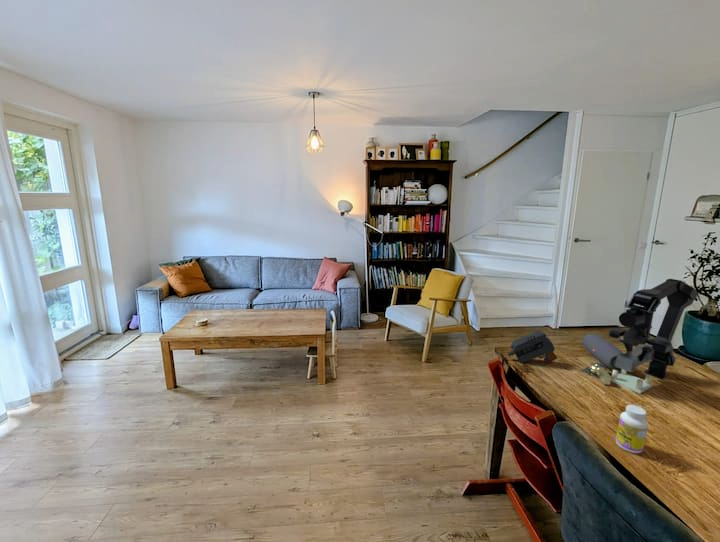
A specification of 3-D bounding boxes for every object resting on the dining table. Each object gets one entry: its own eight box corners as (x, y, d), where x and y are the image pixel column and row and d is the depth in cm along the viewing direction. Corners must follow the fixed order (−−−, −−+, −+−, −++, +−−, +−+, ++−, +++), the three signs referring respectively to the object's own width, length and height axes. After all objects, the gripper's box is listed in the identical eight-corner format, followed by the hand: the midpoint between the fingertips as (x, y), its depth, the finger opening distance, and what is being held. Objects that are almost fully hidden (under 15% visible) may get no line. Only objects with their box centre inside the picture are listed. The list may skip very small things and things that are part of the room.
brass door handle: (586, 367, 148) (588, 360, 147) (602, 369, 146) (603, 362, 146) (598, 383, 136) (599, 375, 135) (615, 385, 134) (616, 377, 133)
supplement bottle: (609, 439, 105) (616, 403, 102) (629, 437, 106) (636, 401, 103) (628, 455, 99) (635, 417, 96) (648, 453, 99) (657, 415, 96)
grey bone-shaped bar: (637, 355, 141) (639, 344, 140) (652, 360, 137) (654, 349, 136) (615, 366, 133) (617, 354, 131) (630, 372, 128) (632, 360, 127)
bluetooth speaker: (579, 350, 166) (582, 331, 164) (599, 351, 165) (603, 332, 162) (605, 374, 144) (609, 352, 142) (629, 375, 143) (633, 354, 140)
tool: (561, 360, 150) (547, 332, 148) (519, 376, 155) (505, 349, 154) (556, 354, 155) (542, 327, 154) (516, 369, 161) (502, 343, 159)
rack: (621, 373, 144) (623, 364, 143) (653, 385, 135) (655, 375, 134) (608, 380, 139) (610, 370, 138) (640, 393, 129) (642, 383, 128)
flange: (591, 365, 151) (591, 365, 151) (614, 374, 143) (614, 374, 143) (580, 370, 146) (580, 370, 146) (603, 380, 139) (603, 379, 139)
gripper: (604, 319, 135) (598, 354, 139) (662, 335, 119) (654, 375, 123) (618, 314, 140) (612, 348, 144) (675, 329, 124) (667, 367, 128)
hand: (635, 359), depth 134 cm, fingers closed on grey bone-shaped bar, 3 cm apart
